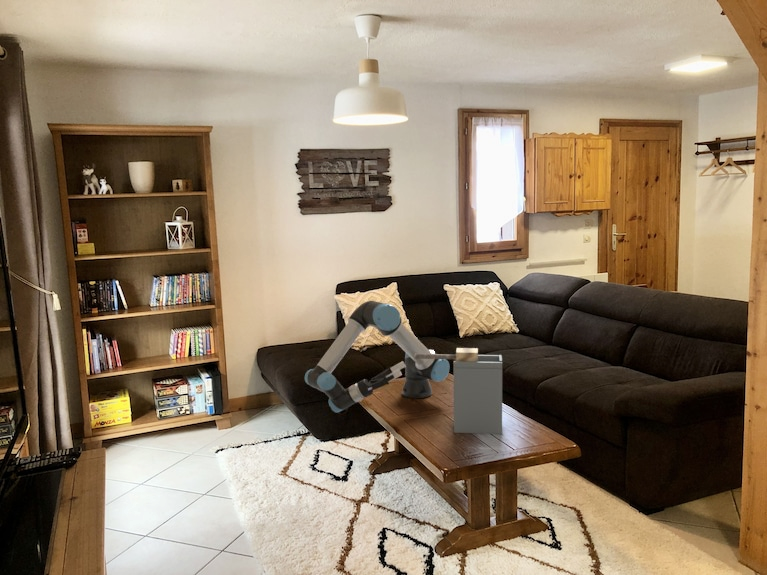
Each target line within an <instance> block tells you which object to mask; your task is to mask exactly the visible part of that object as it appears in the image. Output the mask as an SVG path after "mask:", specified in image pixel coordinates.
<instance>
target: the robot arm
mask: <svg viewBox="0 0 767 575" xmlns="http://www.w3.org/2000/svg"><path fill="white" fill-rule="evenodd" d="M402 322H403V318H402V316H401V313H400V311H399V309H398V308H397V307H396V306H394V305H392V304H390V303H386V302H379V301H376V300H368V301H365V302H363V303H361V304H360V305H359V306H358V307H357V308H356V309H355V310H354V311H353V312H351V314H350V316H349V318H348V319H347V323H346V324H345V326H344V327H343V329H342V330H341V332H339V334H338V335H337V337H336V338H335V340H334V341H333V343H331V346H329V348H328V349H327V351H325V354H324V355H323V356H322V357H321V359H320V360H319V362H318V363H317V364H316V365H315V367H314V368H310V369H309V370H307V371H306V372H305V373H304V374H305V375H304V381H305V383H306V384H307V385H309V386H310V387H311V388H314V389H317V390H318V391H320V392H321V393H322V392H323V393H325V395H326V396H327V397H328V398H329V399H328V405H329V407H330V409H331V411H333V412H334V413H340V412H342V411H344V410H347V409H348V408H349V407H352V405H354V404H356V403H361V402H362V400H364V399H365V398H368V397H369V396H372V395H373V393H374V391H375V390H377V389H379V388H381V387H385V386H386V385H387V386H388V385H389V384H390V382H392V381H393V380H396V379H397V378H399V377H401V376H402V375H403V374H402V371H401V370H402V369H404V370H405V374H404V376H405V378H404V379H405V380H404V384H403V386H402V389H401V392H402V396H404V397H407V398H411V399H421V398H427V397H430V396H432V394H433V388H432V386H431V383H430V380H431V381H433V382H437V383H438V382H439V383H440V382H444V381H445V380H446V378H447V377H448V375H449V372H450V362H449V361H448V359H414V354H437V353H436V352H435V351H434V349H431V348H430V349H428V348H427V347H426V346H425V345H424V344H423V343H422V342H421V340H420V339H418V338H417V337H416V336H415V334H413V333H412V332H411V330H410V329H408V328H407V327H406V325H404V323H402ZM369 327H373V328H375V329H376V330H378V332H379V333H380V334H382V335H383V336H385V337H389V338H390V339H391V340H393V341H394V343H396V344H397V345H398V347H400V348H401V350H403V352H405V354H404V355H405V356H404V361H403V360H402V361H401V362H398V363H396V364H395V365H393V366H390V365H389V366H388V368H387V369H385V370H383V371H382V372H380V373H379V374H377V375H376V376H374V377H372V378H371V379H370V380H369V381H368V379H366V378H364V379H362V380H360V381H358V382H356V383H355V384H354V383H353V384H352V385H351V386H349V387H347V388H344V387H343V385H341V383H340V382H339V381H338V380H337V378H336V377H335V375H333V374H332V373H333V372H334V370H335V369H336V367H337V366H338V364H339V363H340V362H341V361H342V359H343V358H344V356H345V355H346V354H347V352H348V351H349V349H350V348H351V347H352V345H353V344H354V343H355V341H356V340H357V338H358V337H359V336H360V334H361V333H363V332H365V331H366V330H367V329H368V328H369Z"/></svg>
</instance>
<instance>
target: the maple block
mask: <svg viewBox="0 0 767 575" xmlns="http://www.w3.org/2000/svg"><path fill="white" fill-rule="evenodd" d="M455 354H456V355H455ZM455 354H445V353H444V354H442V353H441V354H438V353H436V354H414V359H446V360H455V359H456V361H475V362H478V355H479V348H478V347H476V348H475V347H456V350H455Z"/></svg>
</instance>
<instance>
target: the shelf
mask: <svg viewBox="0 0 767 575" xmlns="http://www.w3.org/2000/svg"><path fill="white" fill-rule="evenodd" d="M454 355H456V353H455V354H454ZM454 433H458V434H460V433H461V434H483V435H486V434H487V435H503V356H502V354H478V362H475V361H456V359H454V360H453V434H454Z"/></svg>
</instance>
